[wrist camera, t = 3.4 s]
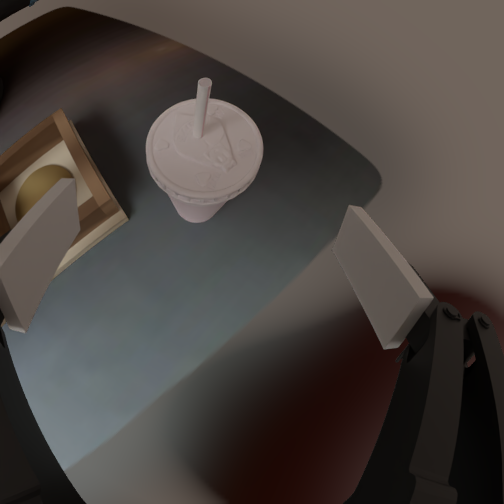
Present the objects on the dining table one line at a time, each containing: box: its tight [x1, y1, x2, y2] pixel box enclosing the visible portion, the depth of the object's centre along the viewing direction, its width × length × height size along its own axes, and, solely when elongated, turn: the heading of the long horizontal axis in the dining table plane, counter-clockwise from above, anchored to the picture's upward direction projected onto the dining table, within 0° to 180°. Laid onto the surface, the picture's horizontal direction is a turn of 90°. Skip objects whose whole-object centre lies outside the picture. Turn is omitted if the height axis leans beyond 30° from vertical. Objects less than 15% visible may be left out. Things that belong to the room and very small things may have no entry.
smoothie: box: [146, 78, 263, 223], centre depth 17 cm, size 6×6×14 cm
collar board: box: [0, 108, 129, 327], centre depth 17 cm, size 12×21×4 cm, turn 128°
